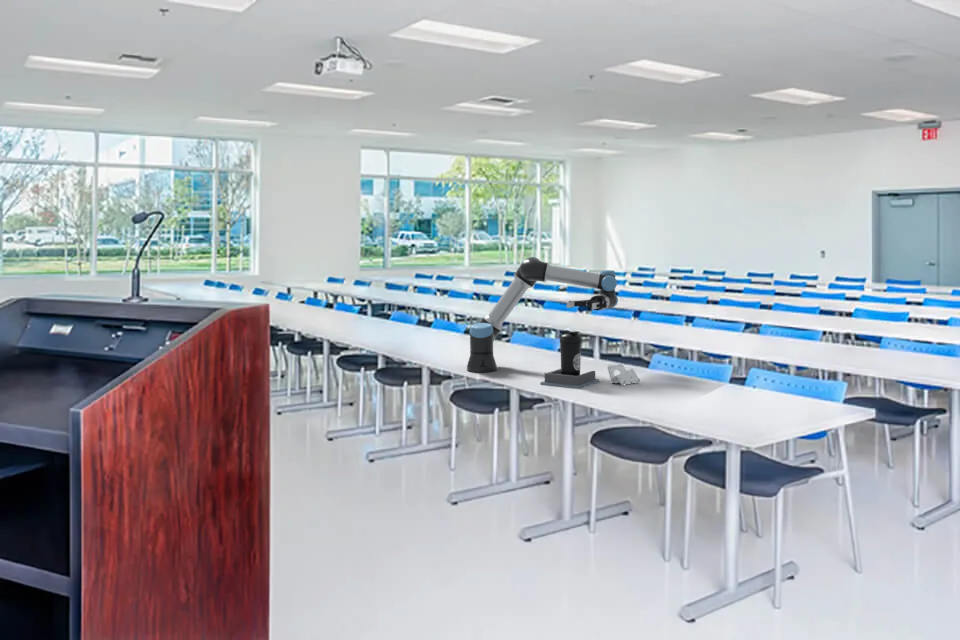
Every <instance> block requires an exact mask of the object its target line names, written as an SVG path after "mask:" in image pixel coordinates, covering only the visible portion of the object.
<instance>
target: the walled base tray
mask: <svg viewBox="0 0 960 640" xmlns="http://www.w3.org/2000/svg"><path fill="white" fill-rule="evenodd" d="M598 381H599V382H600V379H597V378H596V370H591V371H587V372H584V373H582V374H581V373H580V375H578V376H572V375H562V374H561V368H559V369H555V370H553V371H548V372H544V381H543V380H542V381H540V382H539V383H540V385H541V386H542V385H543V386H549V387H550V386H553V387H560V388H570V389H583V388H585V386H586V387H588V386H591V385H594V384H596V382H597V383H599V382H598ZM593 383H594V384H593ZM590 384H591V385H590Z"/></svg>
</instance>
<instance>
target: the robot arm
mask: <svg viewBox="0 0 960 640" xmlns="http://www.w3.org/2000/svg"><path fill="white" fill-rule="evenodd" d="M513 275H514V276H513V277H514V279H513V280H512V282H511V283H510V284H509V286H508V287H507V289H505V291H504V292H503V294H502V295H501V296H500V298H499V300H498V301H497V302H496V304H495V305H494V307H493V308H492V309H491V311H490V312H489V313H488V315H486V316H483V317H482V318H481V320H480V321H479V322H477V323H474V324H471V325H470V327H469V338H470V339H469V346H470V347H469V350H470V351H469V352H470V353H469V354H470V355H469V359H468V362H467V365H466V370H467V371H468V372H471V373H490V372H491V373H492V372H495V371H497V370H498V369H497V368H498V367H497V366H498V365H497V362H496V359H495V356H494V342H495V339H496V338H497V337H498V336H499V334H500V332H501V331H502V325H503V324H504V322H505V321H506V319H507V318H508V317H509V315H510V314H511V313H512V311H513V310H514V308H515V307H516V306H517V305H518V303H519V301H521V299H522V297H523V296H524V295H525V294H526V292H527V291H528V289H531V288H533V287H534V286H535V284H536V283H537V282H543V283H546V282H548V281H550V282H555V283H560V284H567V285H571V286H572V285H573V286H579V287H584V288H590V289H597V290H599V294H597V295H593V296H591V298H590V299H589V298H588V299H582V300H569V301H567V302H566V309H569V308H570V309H573V308H575V307H584V308H591V309H592V310H593V311H604V310H605V309H606V310H607V309H611V308H615V307H616V306H617V305H618V303H619V298H618V295H616V288H617V286H618V281H617V279H616V271H615V270H611V269H610V270H604V269H603V270H601V271H600V273H597V272H590V271H585V270H579V269H574V268H567V267H561V266H557V265H550V264H549V262H544V261H541V260H540V259H539V258H538V257H534V256H529V257H527V258H525V259H524V260H523V261H521V263H520V265H519V267H518V268H517V270H516V271H515V272H514V273H513Z"/></svg>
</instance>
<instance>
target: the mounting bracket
mask: <svg viewBox="0 0 960 640" xmlns="http://www.w3.org/2000/svg"><path fill="white" fill-rule="evenodd" d="M616 370H617V371H619V374H616V375H615V371H616ZM607 371H608V375H609V379H610V382H611V384H612V383H618V384H620V385H621V386H625V385H624V384H631V383H638V384H640V383H641V378H640V377H639V376H638V375H637V373H636V371H635V370H634V369H633V368H629V369H628V370H627V369H626V367H625V366H624V364H622V363H620V364H611V365H607ZM631 385H632V384H631Z"/></svg>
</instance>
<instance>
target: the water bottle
mask: <svg viewBox="0 0 960 640" xmlns="http://www.w3.org/2000/svg"><path fill="white" fill-rule="evenodd" d="M579 333H580V331H578V330H575V331H569V330H568V329H567V330H563V331H562V332H561V335H560V337H559V343H560V345H559V347H560V369H561V374H562V375H572V376H578V375H581V365H582V364H581V361H582V360H581V359H582V353H581V352H582V342H583V338H582V337H581V334H579Z"/></svg>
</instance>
